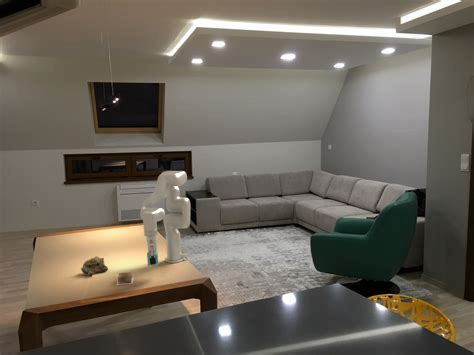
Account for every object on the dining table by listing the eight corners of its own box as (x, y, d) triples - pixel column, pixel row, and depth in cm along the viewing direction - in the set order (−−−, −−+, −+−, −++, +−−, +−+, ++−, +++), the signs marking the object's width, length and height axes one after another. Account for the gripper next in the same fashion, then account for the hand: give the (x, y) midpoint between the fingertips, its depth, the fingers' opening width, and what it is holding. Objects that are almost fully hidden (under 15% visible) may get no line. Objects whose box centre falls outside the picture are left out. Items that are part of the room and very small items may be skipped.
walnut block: (131, 278, 232) (131, 271, 231) (131, 282, 225) (130, 276, 225) (119, 279, 231) (118, 273, 230) (118, 284, 224) (117, 277, 223)
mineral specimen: (85, 279, 237) (84, 263, 236) (79, 273, 247) (78, 258, 246) (109, 273, 245) (108, 258, 244) (102, 268, 256) (101, 253, 254)
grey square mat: (139, 277, 236) (139, 275, 236) (139, 286, 223) (139, 284, 223) (112, 280, 233) (111, 278, 233) (109, 289, 220) (109, 287, 219)
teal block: (158, 261, 234) (157, 251, 233) (158, 264, 229) (157, 254, 228) (147, 262, 233) (147, 252, 232) (147, 265, 227) (147, 255, 226)
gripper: (157, 235, 220) (159, 266, 223) (157, 227, 237) (159, 256, 240) (143, 237, 219) (146, 268, 222) (144, 229, 236) (146, 258, 238)
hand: (153, 261), depth 231 cm, fingers closed on teal block, 6 cm apart
